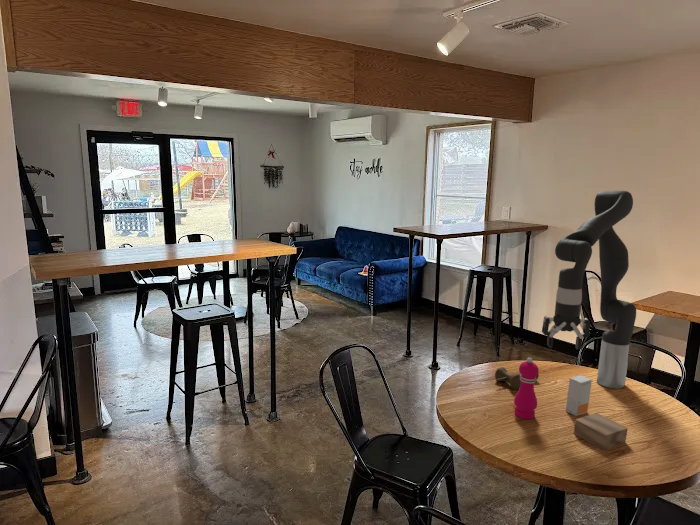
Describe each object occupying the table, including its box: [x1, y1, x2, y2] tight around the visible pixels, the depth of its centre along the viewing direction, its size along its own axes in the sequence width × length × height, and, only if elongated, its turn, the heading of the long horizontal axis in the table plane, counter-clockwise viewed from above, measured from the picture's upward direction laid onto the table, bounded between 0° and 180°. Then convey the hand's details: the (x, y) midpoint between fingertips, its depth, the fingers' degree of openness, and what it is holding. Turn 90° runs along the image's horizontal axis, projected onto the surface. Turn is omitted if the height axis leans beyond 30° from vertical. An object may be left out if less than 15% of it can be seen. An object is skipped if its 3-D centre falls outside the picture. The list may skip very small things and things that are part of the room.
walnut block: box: [573, 412, 628, 451], centre depth 141 cm, size 10×10×5 cm
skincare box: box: [565, 375, 593, 417], centre depth 156 cm, size 6×4×12 cm
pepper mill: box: [513, 357, 539, 420], centre depth 153 cm, size 7×7×20 cm
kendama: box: [494, 366, 540, 391], centre depth 179 cm, size 6×10×20 cm
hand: (563, 347), depth 155 cm, fingers open, 8 cm apart
